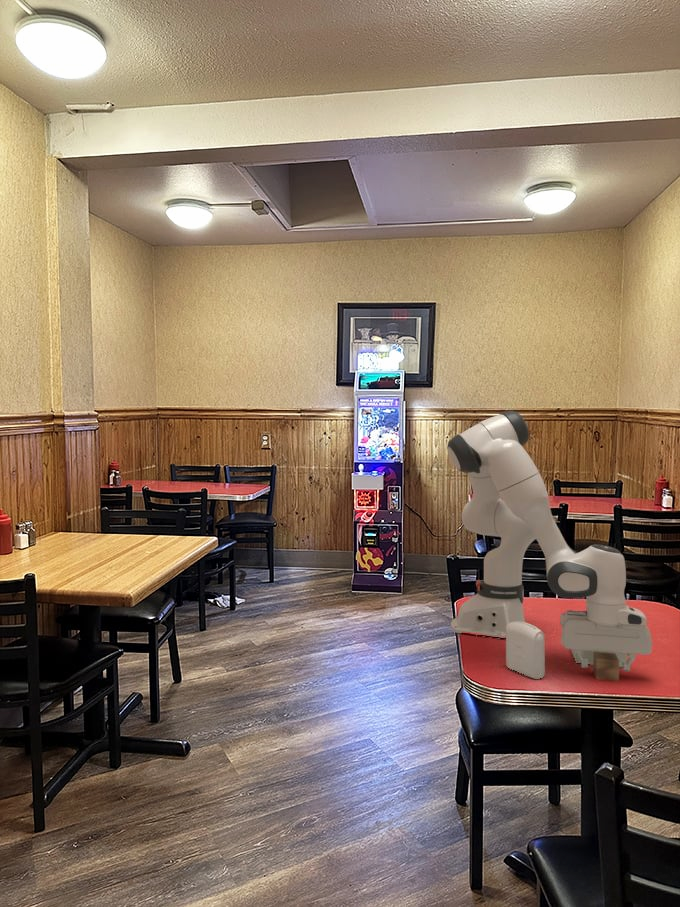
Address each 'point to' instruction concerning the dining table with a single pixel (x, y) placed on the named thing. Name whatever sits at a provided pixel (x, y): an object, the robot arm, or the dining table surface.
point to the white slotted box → (525, 649)
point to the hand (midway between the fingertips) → (605, 668)
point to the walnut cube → (606, 666)
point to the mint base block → (590, 656)
